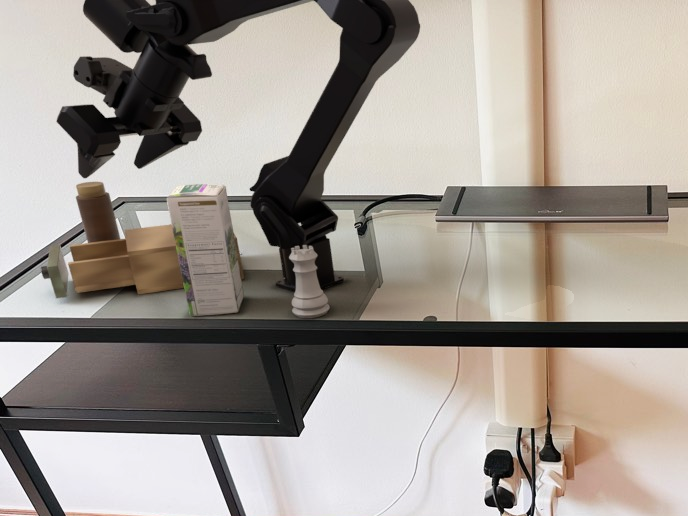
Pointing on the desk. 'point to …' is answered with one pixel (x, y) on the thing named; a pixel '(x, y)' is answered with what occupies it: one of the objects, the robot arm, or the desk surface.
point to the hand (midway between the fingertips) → (110, 170)
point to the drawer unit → (157, 259)
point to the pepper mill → (96, 212)
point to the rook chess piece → (307, 285)
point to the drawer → (90, 267)
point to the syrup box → (206, 248)
